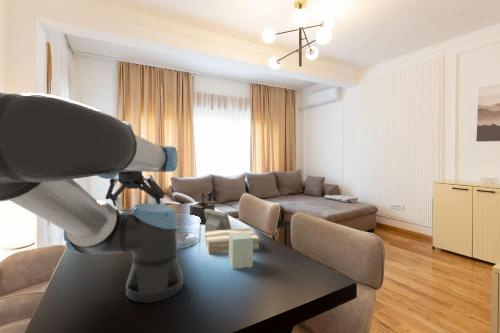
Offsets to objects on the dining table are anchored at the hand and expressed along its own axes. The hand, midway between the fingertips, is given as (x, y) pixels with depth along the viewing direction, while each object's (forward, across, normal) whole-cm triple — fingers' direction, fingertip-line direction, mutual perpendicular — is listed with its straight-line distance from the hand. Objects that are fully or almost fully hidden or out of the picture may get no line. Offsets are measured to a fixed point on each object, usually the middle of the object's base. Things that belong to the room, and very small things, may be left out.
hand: (139, 210), depth 97 cm
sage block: (+6, -38, +21) cm, 44 cm away
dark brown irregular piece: (+35, -23, -25) cm, 49 cm away
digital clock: (+26, -30, -10) cm, 41 cm away
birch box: (+15, -36, +6) cm, 39 cm away
